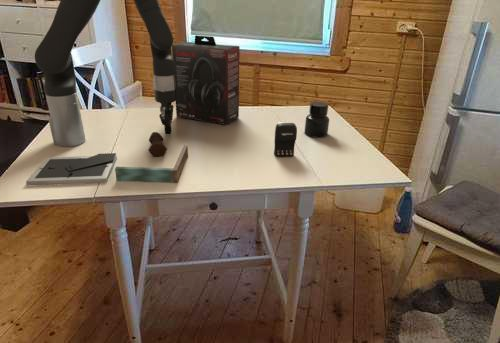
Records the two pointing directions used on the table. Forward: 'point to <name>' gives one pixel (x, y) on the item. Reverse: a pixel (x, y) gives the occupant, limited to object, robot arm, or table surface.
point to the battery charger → (285, 139)
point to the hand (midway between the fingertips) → (168, 133)
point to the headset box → (206, 80)
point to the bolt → (157, 145)
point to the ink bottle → (317, 120)
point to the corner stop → (154, 171)
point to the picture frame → (74, 170)
